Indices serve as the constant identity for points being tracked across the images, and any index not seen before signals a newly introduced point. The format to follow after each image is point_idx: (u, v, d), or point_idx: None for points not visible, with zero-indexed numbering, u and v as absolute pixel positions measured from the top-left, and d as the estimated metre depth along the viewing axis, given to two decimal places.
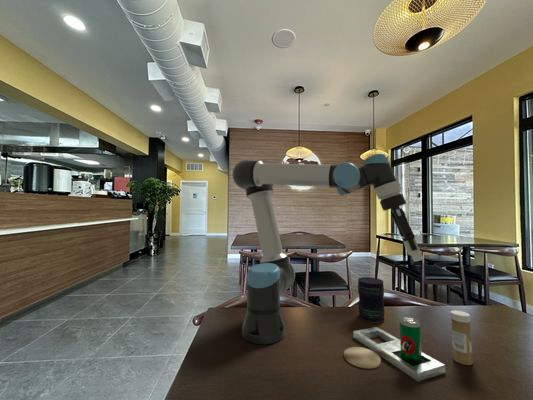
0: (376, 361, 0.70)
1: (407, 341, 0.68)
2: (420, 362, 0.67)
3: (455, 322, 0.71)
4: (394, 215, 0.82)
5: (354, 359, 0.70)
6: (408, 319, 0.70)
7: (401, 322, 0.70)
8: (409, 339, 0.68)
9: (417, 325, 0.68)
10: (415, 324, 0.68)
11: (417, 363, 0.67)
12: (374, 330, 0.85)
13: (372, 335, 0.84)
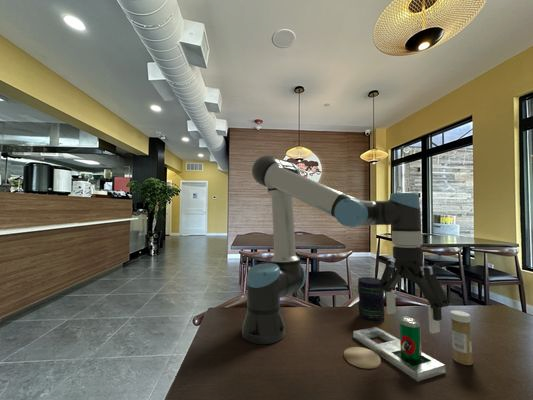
0: (376, 361, 0.70)
1: (407, 341, 0.68)
2: (420, 362, 0.67)
3: (455, 322, 0.71)
4: (411, 270, 0.69)
5: (354, 359, 0.70)
6: (408, 319, 0.70)
7: (401, 322, 0.70)
8: (409, 339, 0.68)
9: (417, 325, 0.68)
10: (415, 324, 0.68)
11: (417, 363, 0.67)
12: (374, 330, 0.85)
13: (372, 335, 0.84)
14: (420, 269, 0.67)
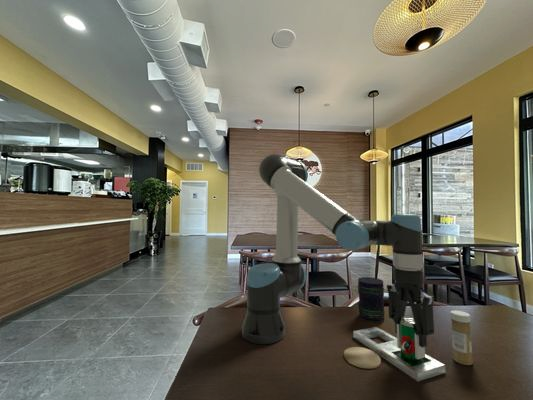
0: (376, 361, 0.70)
1: (407, 341, 0.68)
2: (420, 362, 0.67)
3: (455, 322, 0.71)
4: (411, 294, 0.68)
5: (354, 359, 0.70)
6: (408, 319, 0.70)
7: (401, 322, 0.70)
8: (409, 339, 0.68)
9: None
10: None
11: (417, 363, 0.67)
12: (374, 330, 0.85)
13: (372, 335, 0.84)
14: (420, 293, 0.66)
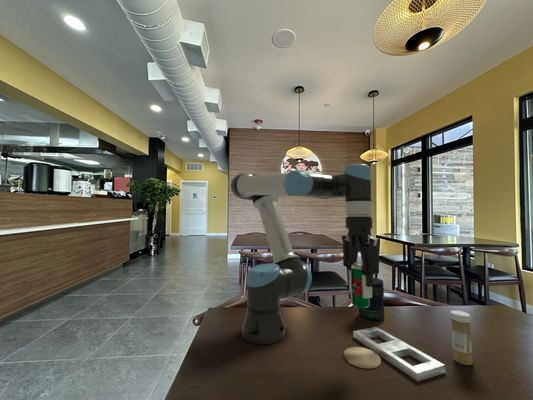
0: (376, 361, 0.70)
1: (356, 283, 0.72)
2: (368, 302, 0.71)
3: (455, 322, 0.71)
4: (360, 239, 0.72)
5: (354, 359, 0.70)
6: (358, 264, 0.74)
7: (352, 266, 0.74)
8: (358, 281, 0.71)
9: None
10: None
11: (364, 303, 0.71)
12: (374, 330, 0.85)
13: (372, 335, 0.84)
14: (367, 236, 0.70)
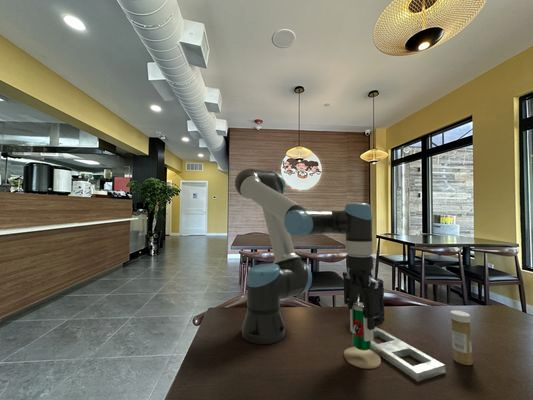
0: (376, 361, 0.70)
1: (357, 324, 0.71)
2: (369, 344, 0.70)
3: (455, 322, 0.71)
4: (361, 279, 0.71)
5: (354, 359, 0.70)
6: (359, 304, 0.73)
7: (352, 307, 0.73)
8: (359, 322, 0.71)
9: None
10: None
11: (366, 345, 0.70)
12: (374, 330, 0.85)
13: None
14: (368, 278, 0.69)
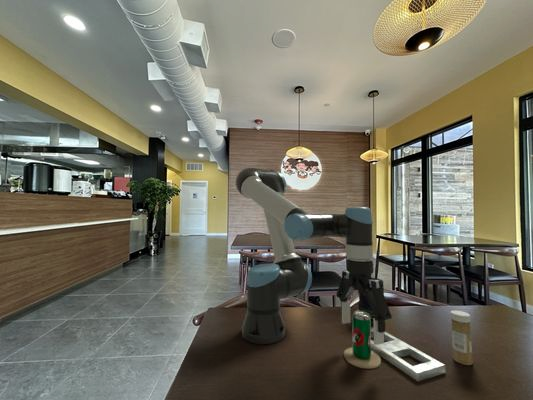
0: (376, 361, 0.70)
1: (357, 333, 0.71)
2: (369, 354, 0.70)
3: (455, 322, 0.71)
4: (361, 282, 0.71)
5: (354, 359, 0.70)
6: (360, 312, 0.73)
7: (353, 315, 0.73)
8: (359, 331, 0.71)
9: (367, 318, 0.71)
10: (365, 317, 0.71)
11: (366, 354, 0.70)
12: None
13: (372, 335, 0.84)
14: (368, 282, 0.69)
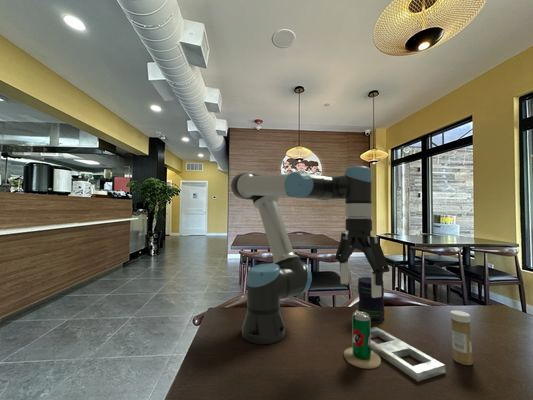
0: (376, 361, 0.70)
1: (357, 334, 0.71)
2: (369, 354, 0.70)
3: (455, 322, 0.71)
4: (360, 240, 0.72)
5: (354, 359, 0.70)
6: (360, 313, 0.73)
7: (353, 316, 0.73)
8: (359, 332, 0.70)
9: (367, 319, 0.71)
10: (365, 318, 0.70)
11: (365, 355, 0.70)
12: (374, 330, 0.85)
13: (372, 335, 0.84)
14: (367, 239, 0.70)
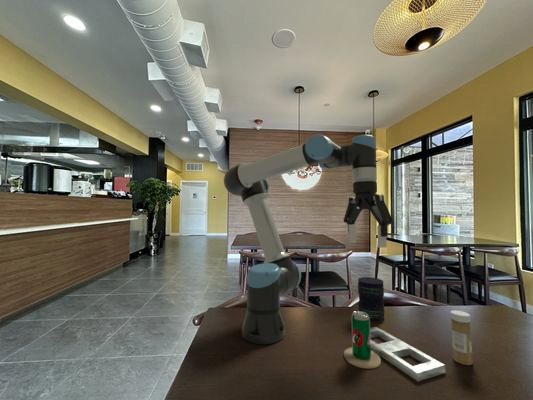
0: (376, 361, 0.70)
1: (356, 334, 0.71)
2: (369, 354, 0.70)
3: (455, 322, 0.71)
4: (366, 200, 0.81)
5: (354, 359, 0.70)
6: (359, 313, 0.73)
7: (352, 316, 0.73)
8: (358, 332, 0.71)
9: (366, 318, 0.71)
10: (364, 317, 0.71)
11: (365, 355, 0.70)
12: (374, 330, 0.85)
13: (372, 335, 0.84)
14: (373, 197, 0.79)
